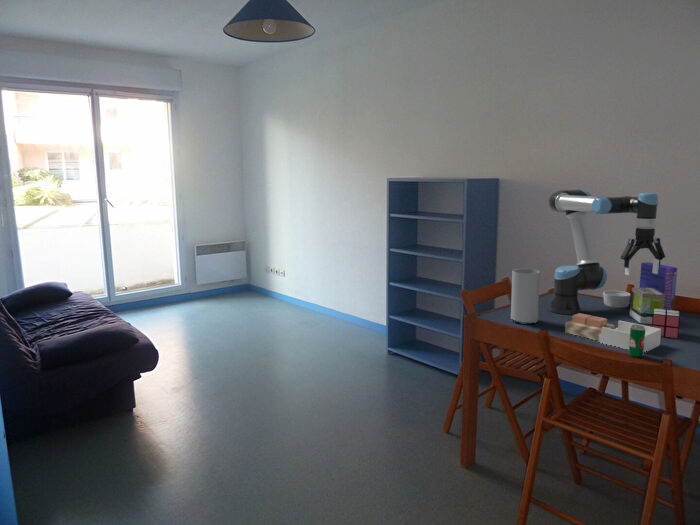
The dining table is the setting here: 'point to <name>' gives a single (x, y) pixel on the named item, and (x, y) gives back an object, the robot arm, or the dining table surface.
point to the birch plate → (585, 330)
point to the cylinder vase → (525, 295)
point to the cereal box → (660, 282)
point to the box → (622, 336)
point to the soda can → (637, 340)
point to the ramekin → (616, 299)
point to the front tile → (596, 321)
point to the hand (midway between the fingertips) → (641, 274)
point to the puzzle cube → (666, 322)
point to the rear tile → (580, 318)
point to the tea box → (645, 304)
